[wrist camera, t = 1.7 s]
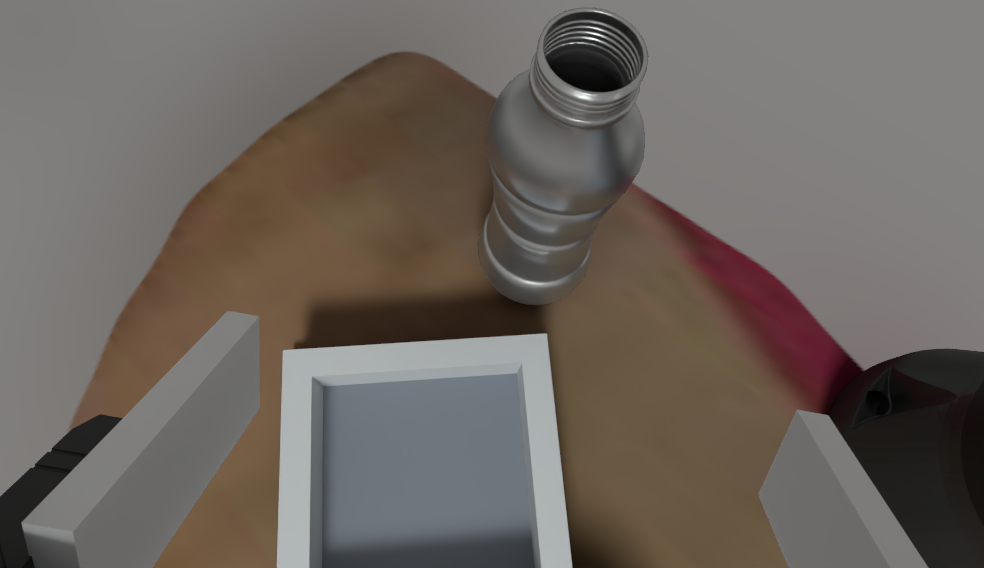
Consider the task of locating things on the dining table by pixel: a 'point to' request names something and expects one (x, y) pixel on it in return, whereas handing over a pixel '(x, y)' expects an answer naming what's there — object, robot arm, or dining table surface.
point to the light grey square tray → (421, 456)
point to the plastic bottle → (562, 153)
